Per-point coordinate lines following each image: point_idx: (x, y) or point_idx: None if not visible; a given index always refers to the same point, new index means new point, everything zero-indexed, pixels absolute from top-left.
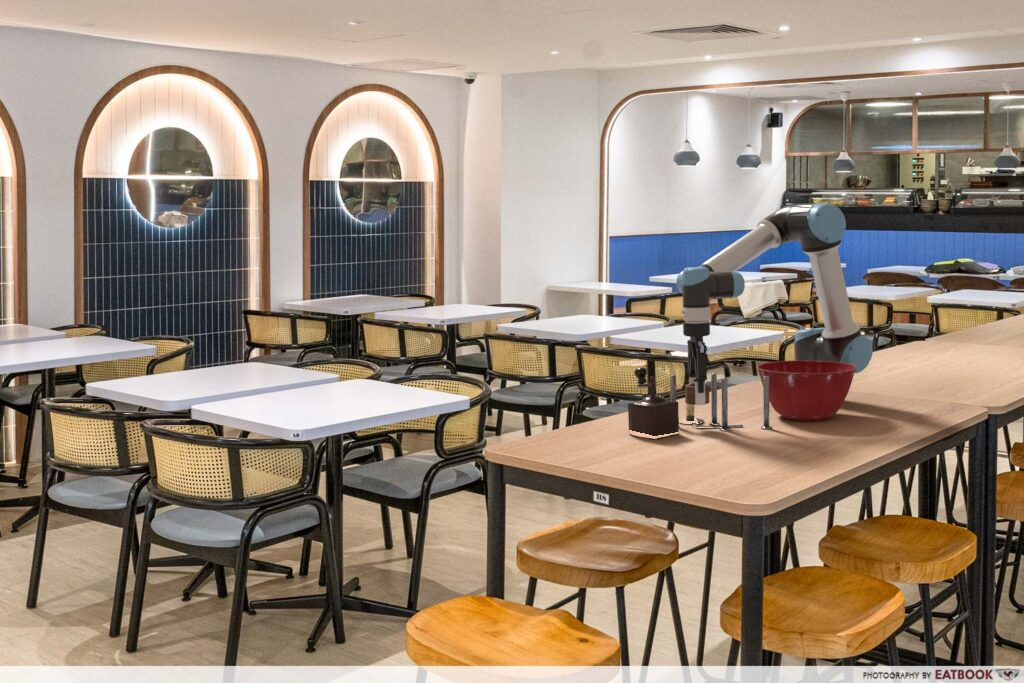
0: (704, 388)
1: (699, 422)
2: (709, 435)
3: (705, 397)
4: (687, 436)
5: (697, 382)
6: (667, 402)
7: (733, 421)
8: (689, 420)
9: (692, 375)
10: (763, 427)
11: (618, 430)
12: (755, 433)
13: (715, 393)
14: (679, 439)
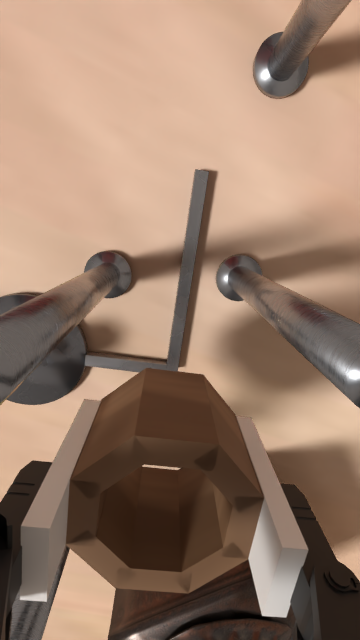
0: (282, 496)
1: (78, 331)
2: (300, 367)
3: (237, 430)
4: (281, 440)
5: (287, 595)
6: (285, 631)
7: (59, 157)
8: (41, 362)
9: (10, 598)
10: (284, 86)
11: (105, 591)
12: (353, 176)
13: (84, 305)
14: (313, 475)
